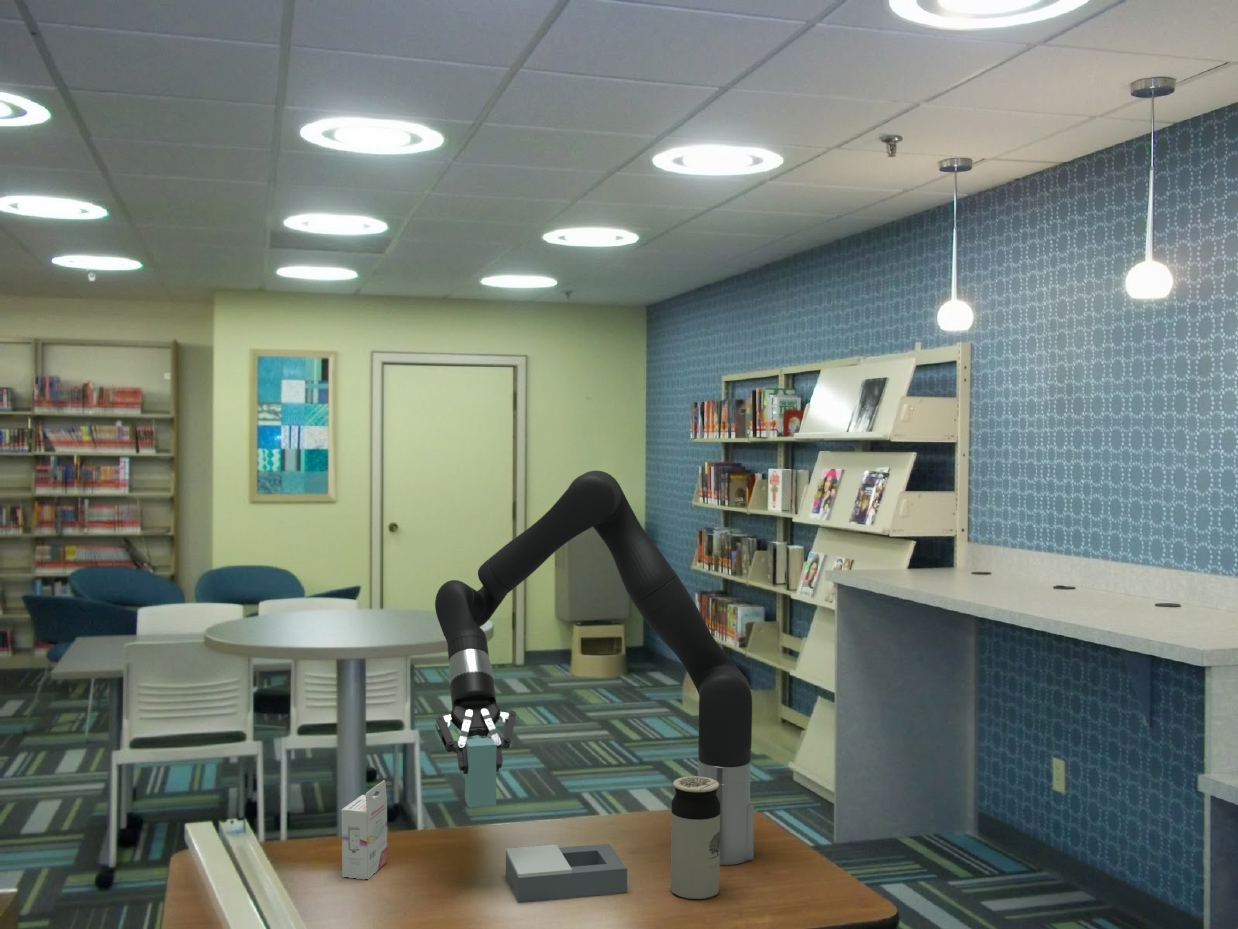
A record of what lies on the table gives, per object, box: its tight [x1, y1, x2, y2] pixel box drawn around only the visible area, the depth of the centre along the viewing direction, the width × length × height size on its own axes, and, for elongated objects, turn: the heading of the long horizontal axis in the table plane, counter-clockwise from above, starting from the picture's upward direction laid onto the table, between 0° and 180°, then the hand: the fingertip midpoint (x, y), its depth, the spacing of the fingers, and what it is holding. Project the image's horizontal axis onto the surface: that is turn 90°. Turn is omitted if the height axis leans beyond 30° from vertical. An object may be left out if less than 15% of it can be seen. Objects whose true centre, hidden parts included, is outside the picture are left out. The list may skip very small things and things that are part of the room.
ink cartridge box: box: [341, 779, 388, 880], centre depth 205 cm, size 9×5×15 cm, turn 168°
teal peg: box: [464, 737, 497, 808], centre depth 198 cm, size 4×4×10 cm
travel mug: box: [670, 775, 720, 900], centre depth 197 cm, size 8×8×18 cm
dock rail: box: [505, 843, 628, 904], centre depth 200 cm, size 18×12×5 cm, turn 105°
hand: (481, 770), depth 197 cm, fingers closed on teal peg, 4 cm apart
